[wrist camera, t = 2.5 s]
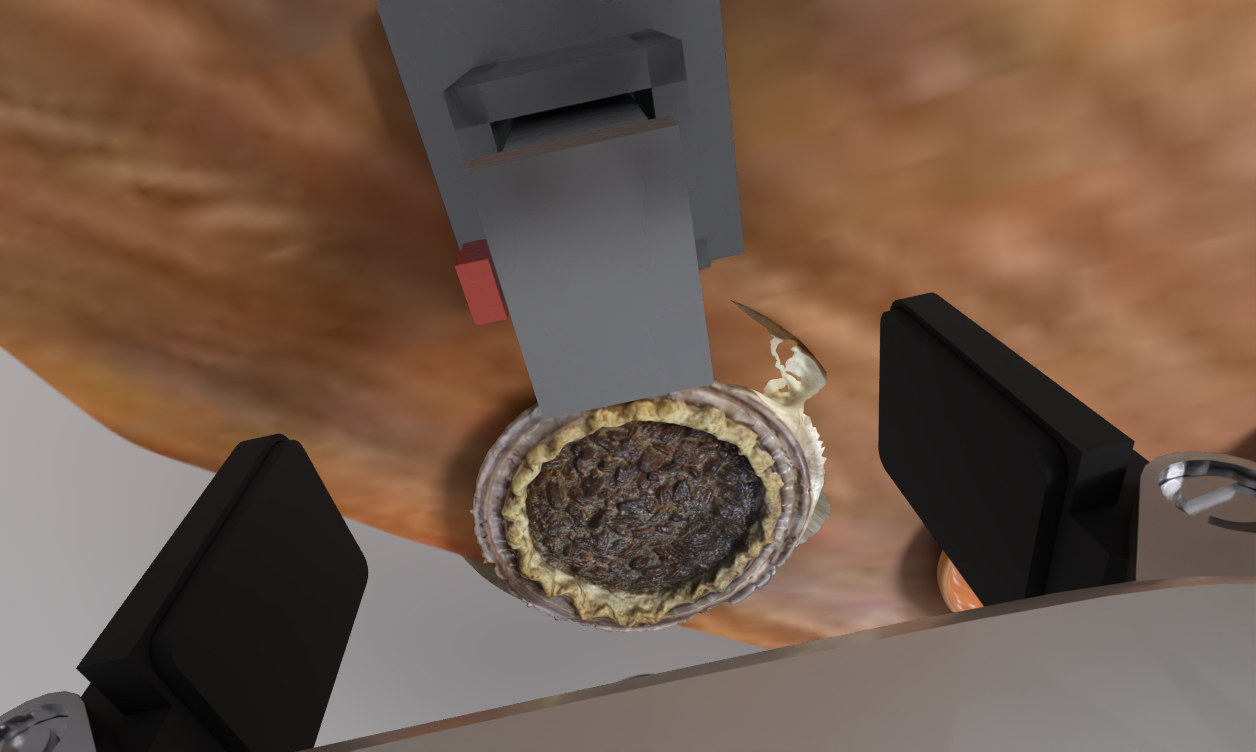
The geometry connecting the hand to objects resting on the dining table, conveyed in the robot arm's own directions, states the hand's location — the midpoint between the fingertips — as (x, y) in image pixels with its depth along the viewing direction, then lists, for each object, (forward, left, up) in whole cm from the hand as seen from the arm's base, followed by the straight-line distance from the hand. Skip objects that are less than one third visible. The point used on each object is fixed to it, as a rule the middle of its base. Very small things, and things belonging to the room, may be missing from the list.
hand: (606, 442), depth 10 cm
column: (0, 0, -23) cm, 23 cm away
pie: (+22, -1, -25) cm, 33 cm away
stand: (0, 0, -25) cm, 25 cm away
